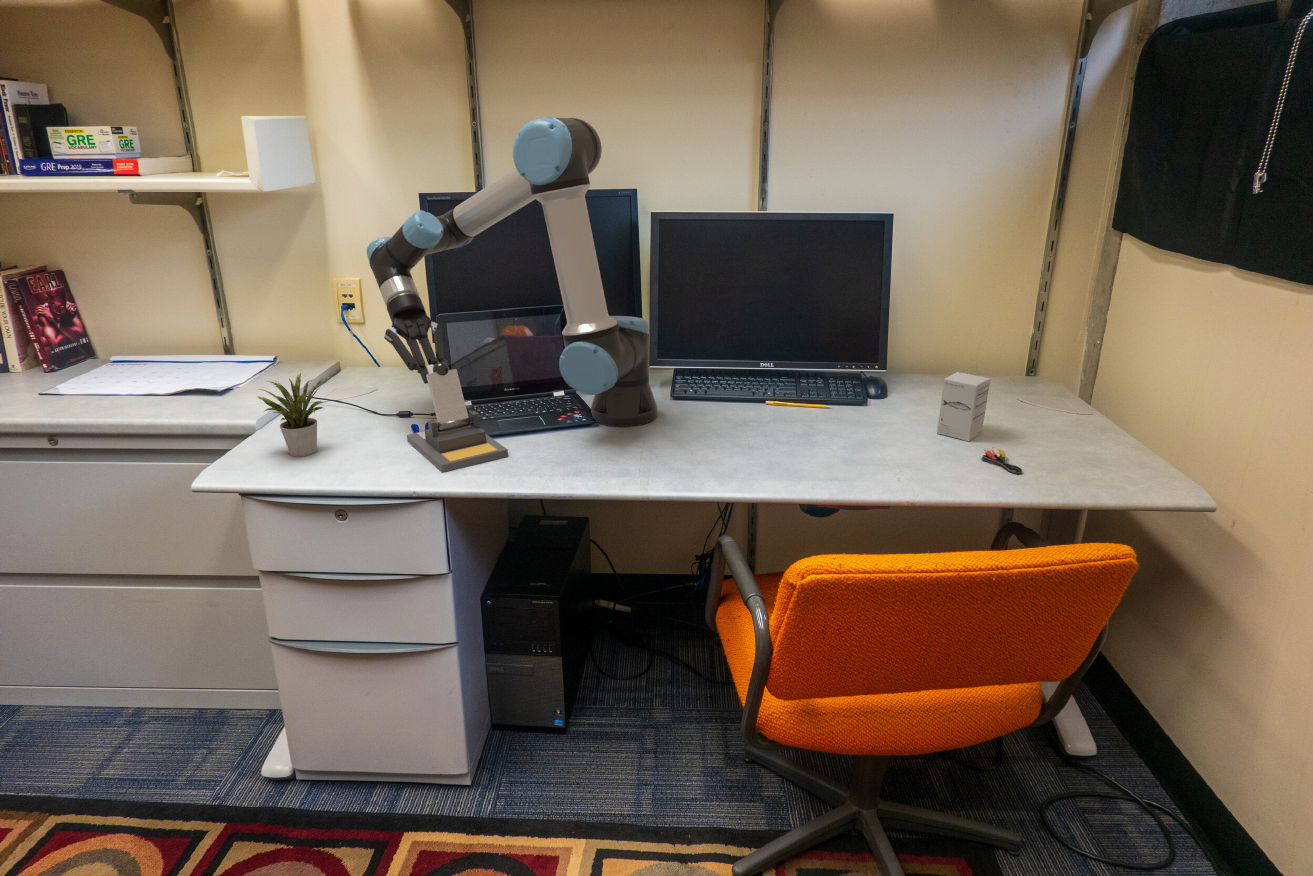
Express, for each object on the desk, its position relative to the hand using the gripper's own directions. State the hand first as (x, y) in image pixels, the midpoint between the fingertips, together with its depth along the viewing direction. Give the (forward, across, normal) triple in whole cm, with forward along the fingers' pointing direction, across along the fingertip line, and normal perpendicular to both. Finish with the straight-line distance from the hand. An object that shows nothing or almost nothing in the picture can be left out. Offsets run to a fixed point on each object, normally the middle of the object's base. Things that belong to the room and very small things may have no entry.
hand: (438, 394), depth 172 cm
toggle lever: (+8, 0, +2) cm, 9 cm away
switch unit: (+12, 0, -2) cm, 12 cm away
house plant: (0, +25, -15) cm, 29 cm away
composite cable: (+62, -84, +47) cm, 115 cm away
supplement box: (+51, -92, +36) cm, 112 cm away
